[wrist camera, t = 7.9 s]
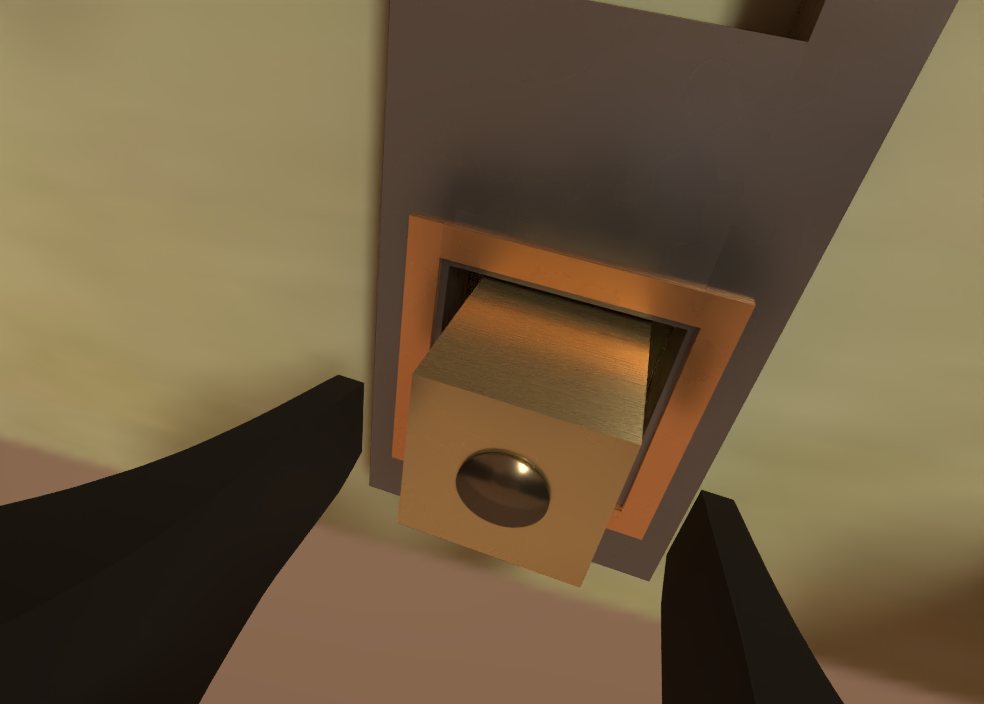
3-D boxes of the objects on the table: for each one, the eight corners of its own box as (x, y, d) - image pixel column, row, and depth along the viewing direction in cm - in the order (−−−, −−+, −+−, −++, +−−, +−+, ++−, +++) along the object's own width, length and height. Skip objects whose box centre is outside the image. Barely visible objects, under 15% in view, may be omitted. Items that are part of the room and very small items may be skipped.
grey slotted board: (1328, -846, 6) (1626, -1240, 4) (651, 529, 18) (649, 586, 16) (492, -814, 7) (429, -1097, 5) (395, 444, 19) (367, 489, 17)
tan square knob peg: (654, 291, 14) (641, 449, 9) (610, 411, 16) (579, 591, 11) (502, 250, 14) (410, 376, 9) (480, 372, 17) (395, 526, 12)
